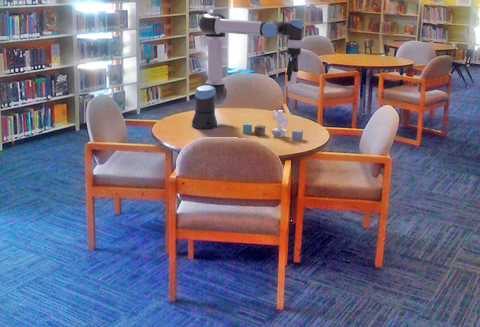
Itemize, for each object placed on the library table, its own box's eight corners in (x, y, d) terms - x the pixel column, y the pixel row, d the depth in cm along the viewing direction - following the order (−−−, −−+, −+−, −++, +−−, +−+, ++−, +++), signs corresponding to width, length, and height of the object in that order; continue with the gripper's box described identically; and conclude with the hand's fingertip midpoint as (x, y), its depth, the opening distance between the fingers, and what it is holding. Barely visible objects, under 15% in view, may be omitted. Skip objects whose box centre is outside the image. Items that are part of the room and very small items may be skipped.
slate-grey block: (291, 139, 328) (292, 131, 326) (293, 137, 332) (294, 129, 331) (300, 141, 326) (301, 132, 325) (302, 139, 331) (303, 130, 329)
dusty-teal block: (242, 133, 337) (243, 124, 336) (243, 130, 342) (243, 122, 341) (251, 133, 337) (251, 125, 336) (251, 131, 342) (252, 123, 340)
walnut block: (254, 135, 334) (254, 126, 332) (256, 133, 338) (257, 124, 337) (262, 136, 332) (262, 127, 331) (264, 134, 337) (265, 125, 336)
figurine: (282, 138, 329) (284, 112, 324) (268, 135, 334) (270, 109, 329) (289, 136, 334) (291, 110, 330) (275, 133, 339) (276, 108, 335)
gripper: (296, 50, 317) (293, 89, 323) (305, 45, 340) (301, 82, 346) (282, 48, 319) (279, 87, 325) (292, 44, 342) (289, 81, 348)
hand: (291, 85), depth 336 cm, fingers open, 13 cm apart
